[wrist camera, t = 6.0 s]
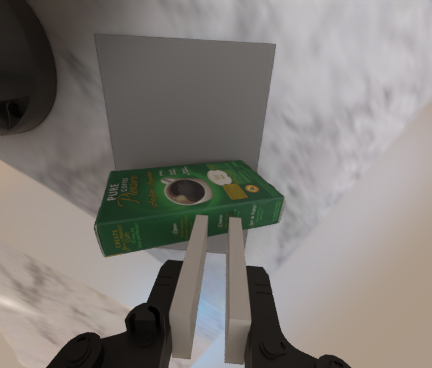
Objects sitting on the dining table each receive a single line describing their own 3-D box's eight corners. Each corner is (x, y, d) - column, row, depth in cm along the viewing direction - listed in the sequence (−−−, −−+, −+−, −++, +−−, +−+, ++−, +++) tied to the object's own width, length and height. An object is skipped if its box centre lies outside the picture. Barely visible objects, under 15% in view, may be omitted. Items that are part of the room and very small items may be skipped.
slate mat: (129, 243, 28) (128, 245, 28) (96, 34, 18) (93, 33, 18) (243, 253, 28) (243, 255, 27) (275, 44, 18) (276, 43, 17)
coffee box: (238, 181, 23) (112, 196, 19) (240, 157, 22) (106, 168, 17) (280, 225, 17) (102, 264, 12) (288, 195, 15) (90, 228, 11)
